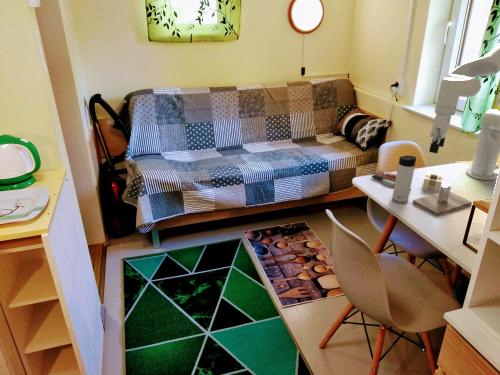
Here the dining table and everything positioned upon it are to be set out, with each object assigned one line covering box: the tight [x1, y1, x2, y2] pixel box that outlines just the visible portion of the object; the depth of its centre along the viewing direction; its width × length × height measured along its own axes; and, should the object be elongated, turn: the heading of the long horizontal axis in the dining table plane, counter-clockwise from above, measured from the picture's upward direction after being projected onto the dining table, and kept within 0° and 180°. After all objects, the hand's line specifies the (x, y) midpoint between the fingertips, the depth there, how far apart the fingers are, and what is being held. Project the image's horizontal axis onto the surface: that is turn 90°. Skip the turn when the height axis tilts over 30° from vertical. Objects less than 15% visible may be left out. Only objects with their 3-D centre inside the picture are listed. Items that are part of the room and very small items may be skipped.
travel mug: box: [391, 155, 417, 205], centre depth 156 cm, size 6×7×20 cm
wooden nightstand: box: [421, 172, 444, 193], centre depth 171 cm, size 7×7×5 cm
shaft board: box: [412, 183, 473, 217], centre depth 156 cm, size 20×12×8 cm, turn 116°
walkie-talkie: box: [371, 170, 412, 192], centre depth 175 cm, size 9×4×20 cm
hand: (436, 149), depth 162 cm, fingers open, 9 cm apart
